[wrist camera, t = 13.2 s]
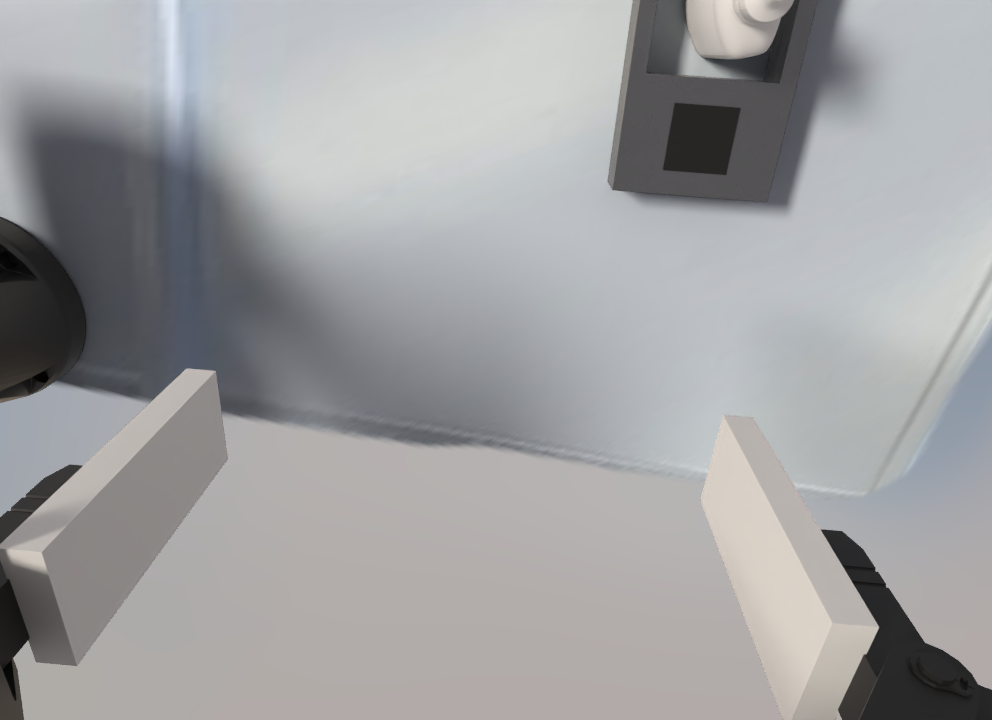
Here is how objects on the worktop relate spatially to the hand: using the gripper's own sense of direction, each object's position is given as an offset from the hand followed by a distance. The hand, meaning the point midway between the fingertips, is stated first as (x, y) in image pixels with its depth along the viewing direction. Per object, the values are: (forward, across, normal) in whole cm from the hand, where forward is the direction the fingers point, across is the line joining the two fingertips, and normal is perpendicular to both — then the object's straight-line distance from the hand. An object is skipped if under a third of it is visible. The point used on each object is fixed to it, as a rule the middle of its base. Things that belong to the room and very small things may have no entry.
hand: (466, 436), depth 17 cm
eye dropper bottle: (+32, +12, +12) cm, 36 cm away
